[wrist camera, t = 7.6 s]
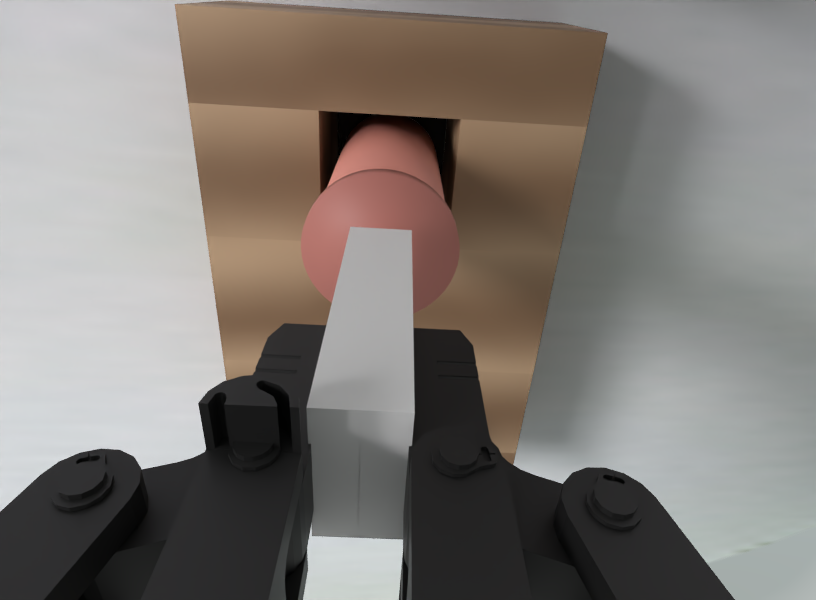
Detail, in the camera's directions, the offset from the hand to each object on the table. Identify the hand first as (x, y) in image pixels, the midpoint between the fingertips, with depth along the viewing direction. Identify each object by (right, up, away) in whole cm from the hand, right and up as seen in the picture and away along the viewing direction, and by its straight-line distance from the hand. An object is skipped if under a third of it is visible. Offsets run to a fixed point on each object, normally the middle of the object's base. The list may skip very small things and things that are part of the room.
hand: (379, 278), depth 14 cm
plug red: (0, +5, +9) cm, 11 cm away
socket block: (0, +2, +14) cm, 15 cm away
